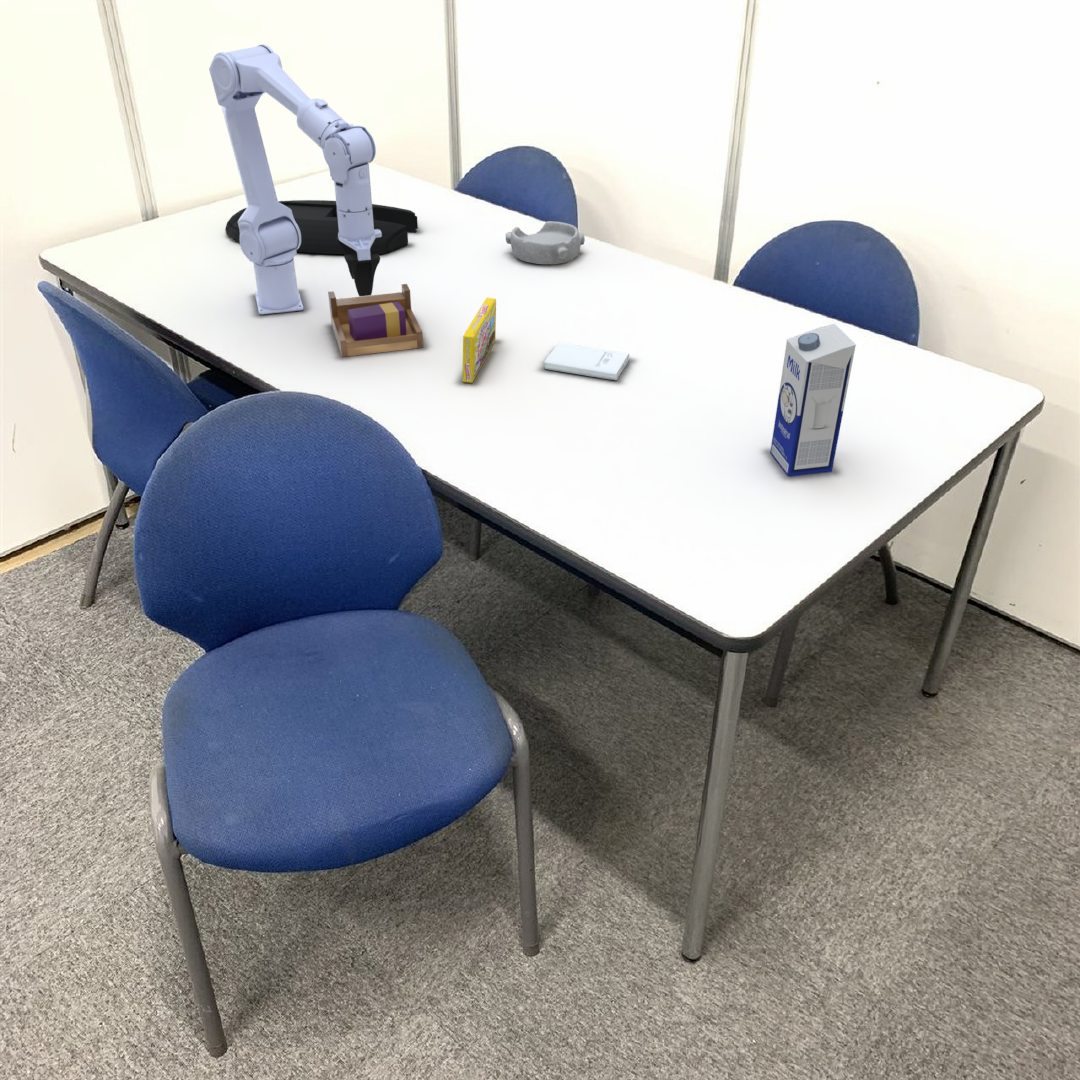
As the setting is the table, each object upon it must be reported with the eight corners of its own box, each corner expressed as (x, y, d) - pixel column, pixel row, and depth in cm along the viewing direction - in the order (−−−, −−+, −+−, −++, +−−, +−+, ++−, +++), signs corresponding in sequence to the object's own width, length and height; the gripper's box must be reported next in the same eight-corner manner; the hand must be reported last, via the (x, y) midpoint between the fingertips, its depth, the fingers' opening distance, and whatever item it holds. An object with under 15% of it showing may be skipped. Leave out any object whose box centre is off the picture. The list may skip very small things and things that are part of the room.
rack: (331, 326, 196) (327, 291, 192) (409, 317, 199) (406, 283, 196) (341, 357, 186) (338, 321, 182) (423, 347, 189) (421, 312, 186)
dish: (498, 256, 225) (497, 232, 222) (542, 238, 233) (542, 214, 230) (552, 273, 217) (552, 249, 214) (595, 254, 226) (596, 230, 223)
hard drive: (559, 350, 189) (629, 360, 186) (543, 370, 183) (616, 381, 179) (559, 341, 188) (629, 351, 185) (543, 361, 182) (616, 372, 178)
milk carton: (832, 472, 157) (856, 343, 145) (788, 477, 156) (809, 347, 144) (812, 447, 163) (834, 321, 151) (769, 452, 161) (788, 325, 150)
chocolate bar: (349, 333, 190) (347, 309, 188) (400, 325, 193) (398, 301, 190) (356, 343, 187) (353, 318, 184) (406, 334, 190) (405, 310, 187)
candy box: (474, 384, 178) (473, 337, 174) (462, 383, 179) (460, 335, 174) (497, 342, 191) (496, 297, 187) (485, 341, 192) (484, 296, 187)
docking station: (249, 208, 247) (246, 186, 244) (426, 219, 243) (425, 196, 240) (207, 248, 227) (203, 224, 224) (399, 260, 222) (397, 236, 219)
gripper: (386, 219, 173) (392, 300, 181) (371, 190, 185) (377, 268, 193) (341, 223, 172) (349, 305, 180) (329, 194, 183) (337, 272, 191)
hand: (361, 286), depth 186 cm, fingers open, 7 cm apart
